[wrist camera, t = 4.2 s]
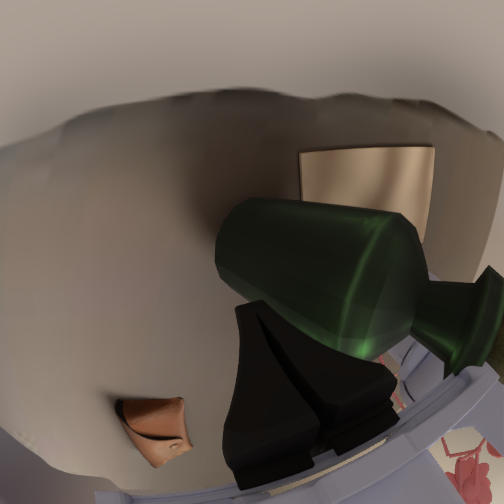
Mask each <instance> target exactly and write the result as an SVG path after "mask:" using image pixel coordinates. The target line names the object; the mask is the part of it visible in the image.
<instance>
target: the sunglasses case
mask: <svg viewBox="0 0 504 504" xmlns="http://www.w3.org/2000/svg"><path fill="white" fill-rule="evenodd" d="M115 412H116V415H117V416H118V418H119V420H120V422H121V424H122V425H123V427H124V429H125V431H126V432H127V434H128V436H129V437H130V439H131V440H132V441H133V443H134V444H135V446H136V447H137V449H138V450H139V451H140V453H141V454H142V455H143V457H144V458H145V459H146V460H147V461H148V462H149V463H150V464H151V466H153V467H154V468H158V467H160V466H161V465H163V464H164V463H165V462H166V461H168V460H170V459H172V458H175V457H177V456H179V455H181V454H183V453H185V452H187V451H189V450H190V449H192V448H193V445H192V444H191V442H190V440H189V437H188V433H187V428H186V424H185V418H184V400H183V398H180V397H176V398H171V399H153V400H123V401H120V399H118V400H117V401H116V403H115Z"/></svg>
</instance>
